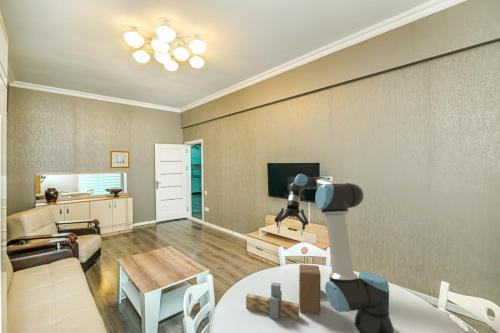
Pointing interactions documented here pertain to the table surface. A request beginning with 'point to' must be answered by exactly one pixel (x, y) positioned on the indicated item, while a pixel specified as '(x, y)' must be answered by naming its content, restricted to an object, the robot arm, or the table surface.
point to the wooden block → (309, 289)
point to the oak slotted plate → (264, 305)
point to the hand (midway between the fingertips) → (289, 233)
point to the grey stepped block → (275, 300)
